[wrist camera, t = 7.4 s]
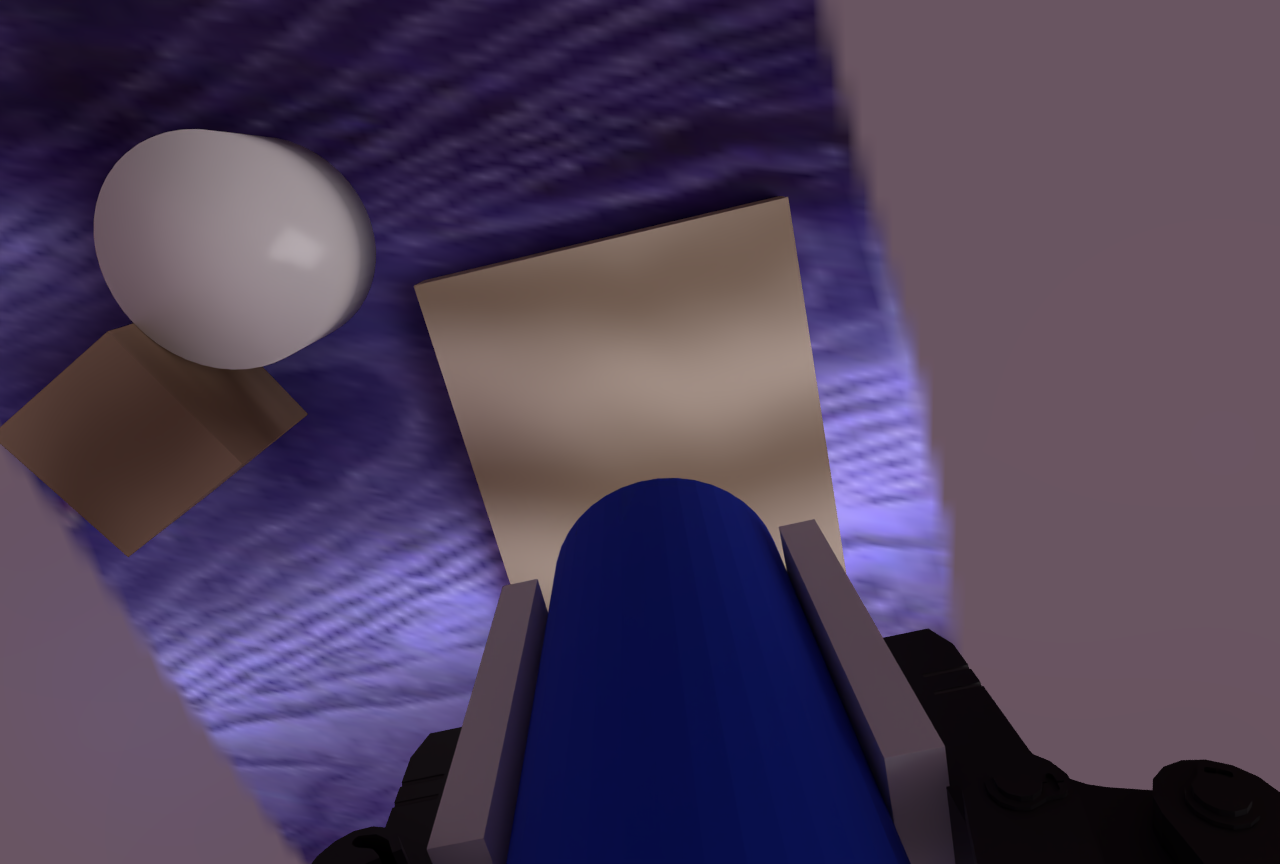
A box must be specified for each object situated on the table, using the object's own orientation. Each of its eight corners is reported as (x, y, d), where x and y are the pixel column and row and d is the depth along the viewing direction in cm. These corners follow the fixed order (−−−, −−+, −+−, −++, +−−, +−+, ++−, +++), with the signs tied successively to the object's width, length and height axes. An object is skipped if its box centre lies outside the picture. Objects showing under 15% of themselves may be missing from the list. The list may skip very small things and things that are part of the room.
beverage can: (572, 671, 18) (410, 2313, 4) (541, 479, 17) (110, 2127, 3) (779, 650, 18) (1316, 2238, 4) (769, 455, 17) (1601, 1996, 3)
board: (423, 280, 23) (413, 285, 22) (779, 196, 22) (788, 197, 21) (544, 658, 27) (541, 680, 26) (842, 596, 27) (852, 614, 26)
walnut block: (103, 388, 24) (-9, 435, 19) (202, 302, 23) (107, 331, 19) (211, 491, 25) (127, 557, 21) (309, 413, 24) (242, 464, 20)
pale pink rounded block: (137, 163, 22) (50, 161, 18) (335, 114, 21) (284, 103, 18) (221, 361, 23) (156, 391, 20) (404, 318, 23) (368, 341, 20)
